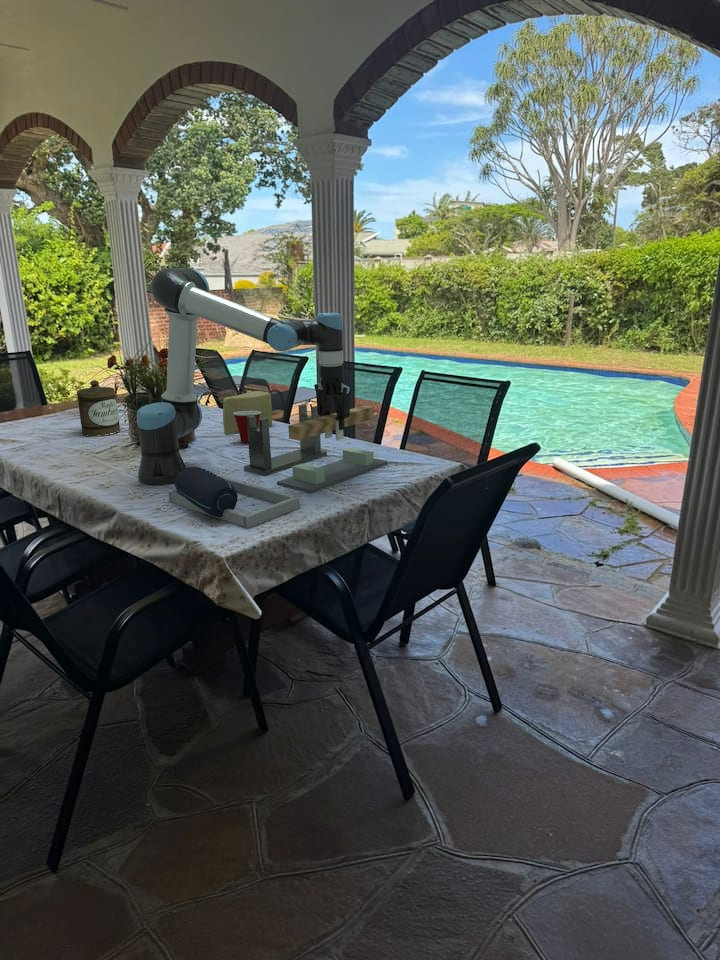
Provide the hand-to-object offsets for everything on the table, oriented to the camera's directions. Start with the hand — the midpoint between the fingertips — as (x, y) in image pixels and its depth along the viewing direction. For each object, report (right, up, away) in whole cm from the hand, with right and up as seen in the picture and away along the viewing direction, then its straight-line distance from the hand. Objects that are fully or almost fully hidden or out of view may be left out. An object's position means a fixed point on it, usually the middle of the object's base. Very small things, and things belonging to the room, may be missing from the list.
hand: (334, 438), depth 204 cm
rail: (0, +3, -1) cm, 3 cm away
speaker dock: (-28, -20, -23) cm, 41 cm away
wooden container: (-100, +6, +65) cm, 120 cm away
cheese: (-40, +8, +66) cm, 77 cm away
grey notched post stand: (-17, -7, +17) cm, 25 cm away
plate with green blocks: (0, -11, +4) cm, 12 cm away
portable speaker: (-34, -21, -25) cm, 47 cm away
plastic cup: (-35, +1, +46) cm, 58 cm away
